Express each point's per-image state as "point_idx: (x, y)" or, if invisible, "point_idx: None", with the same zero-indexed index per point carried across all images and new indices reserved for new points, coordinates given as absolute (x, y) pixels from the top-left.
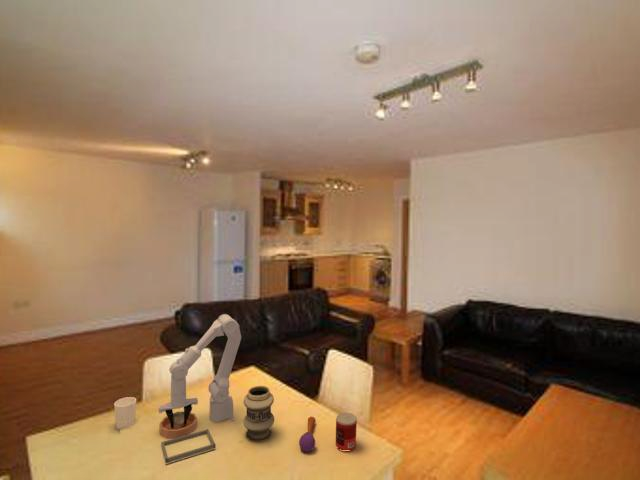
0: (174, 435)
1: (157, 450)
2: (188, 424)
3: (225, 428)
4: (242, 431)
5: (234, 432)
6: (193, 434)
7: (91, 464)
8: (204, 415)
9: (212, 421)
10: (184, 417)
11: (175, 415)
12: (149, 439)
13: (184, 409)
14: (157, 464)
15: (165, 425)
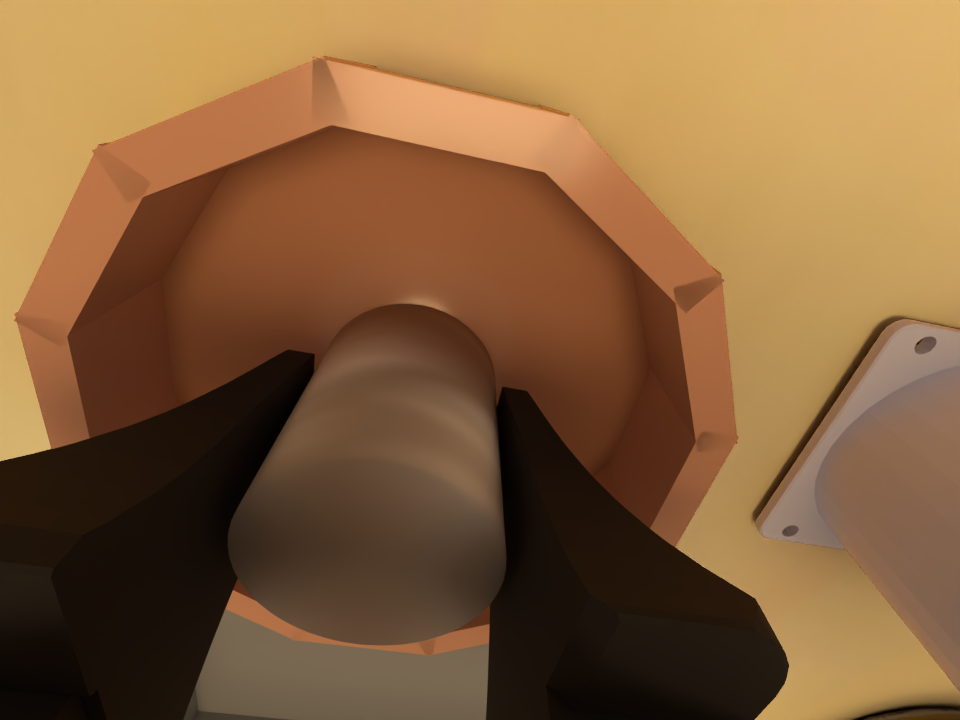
0: None
1: None
2: (562, 386)
3: (813, 606)
4: (858, 693)
5: (808, 675)
6: (480, 649)
7: None
8: (923, 229)
9: (822, 505)
10: (505, 486)
11: (292, 563)
12: (6, 315)
13: (528, 624)
14: None
15: (234, 173)
